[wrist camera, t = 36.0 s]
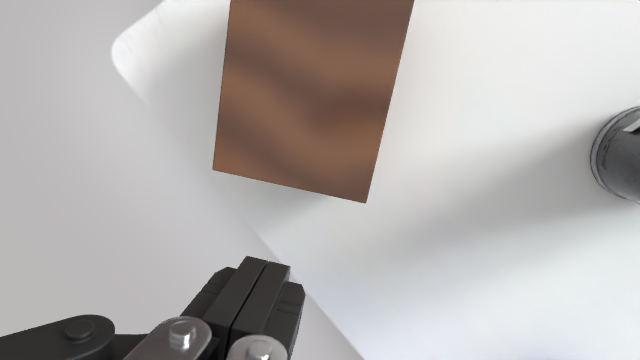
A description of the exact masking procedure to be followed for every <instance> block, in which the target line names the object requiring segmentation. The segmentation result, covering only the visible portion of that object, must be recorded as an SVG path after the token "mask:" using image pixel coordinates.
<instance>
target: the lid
mask: <svg viewBox="0 0 640 360" xmlns="http://www.w3.org/2000/svg"><path fill="white" fill-rule="evenodd" d="M413 4H414V0H231V2H230V11H229V20H228V30H227V39H226V48H225V58H224V67H223V76H222V86H221V95H220V104H219V114H218V123H217V132H216V142H215V151H214V160H213V170H216V171H220V172H225V173H229V174H234V175H238V176H243V177H247V178H252V179H257V180H261V181H266V182H270V183H275V184H279V185H284V186H288V187H293V188H297V189H302V190H307V191H311V192H316V193H320V194H325V195H329V196H334V197H338V198H343V199H347V200H352V201H357V202H361V203H366V201H367V197H368V193H369V189H370V185H371V180H372V176H373V172H374V168H375V164H376V159H377V155H378V151H379V147H380V143H381V138H382V134H383V130H384V126H385V122H386V117H387V113H388V109H389V105H390V101H391V96H392V92H393V88H394V84H395V79H396V75H397V71H398V67H399V63H400V58H401V54H402V50H403V46H404V42H405V37H406V33H407V29H408V25H409V21H410V16H411V12H412V8H413Z"/></svg>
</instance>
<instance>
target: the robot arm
mask: <svg viewBox="0 0 640 360" xmlns="http://www.w3.org/2000/svg"><path fill="white" fill-rule="evenodd" d="M591 167H592V171H593V174H594V176H595V178H596V180H597V181H598V183H599V184H600V185H601V186H602V187H603V188H604V189H606V190H607V191H609V192H610V193H612V194H614V195H617V196H619V197H622V198H625V199H629V200H632V201H634V202H636V203H639V204H640V107H636V108H632V109H630V110H627V111H625V112H623V113H621V114H619V115H618V116H616V117H615V118H613V119H612V120H611V121H610V122H609V123H608V124H607V125H606V126H605V127H604V128H603V129H602V130H601V132H600V133H599V135H598V136H597V138H596V140H595V142H594V145H593V148H592V152H591ZM290 269H291V267H290V266H287V265H283V264H279V263H275V262H270V261H269V262H268V261H266V260H262V259H258V258H254V257H250V256H246V257H245V259H244V260H243V262H242V263H241V264H240V266H239V267H238V269H234V268H230V267H226V268H224V269H222V270H220V271H218V272H216V273H215V274H214V275H213V276H212V277H211V279H210V280H209V281H208V283H207V284H206V285H205V286H204V287H203V288H202V290H201V291H200V292H199V293H198V294H197V295H196V297H195V298H194V299H193V300H192V302H191V303H190V304H189V305H188V306H187V308H186V309H185V310H184V311H183V313H182V314H181V315H180V316H179V317H174V318H171V319H168V320H166V321H164V322H162V323H161V324H159V325H158V326H157V327H156V328H155V329H154V330H152V331H151V332H150V333H149V334H139V335H130V334H127V335H126V334H115V327H114V324H113V322H112V321H111V320H109V319H108V318H106V317H103V316H99V315H80V316H75V317H71V318H67V319H64V320H61V321H57V322H53V323H50V324H46V325H42V326H39V327H35V328H31V329H28V330H24V331H20V332H17V333H13V334H10V335H6V336H3V337H0V360H290V359H291V355H292V352H293V348H294V345H295V341H296V338H297V334H298V329H299V324H300V319H301V314H302V309H303V304H304V300H305V292H304V289H303V287H302V285H301V284H297V283H293V282H289V281H288V280H289V275H290Z"/></svg>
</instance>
